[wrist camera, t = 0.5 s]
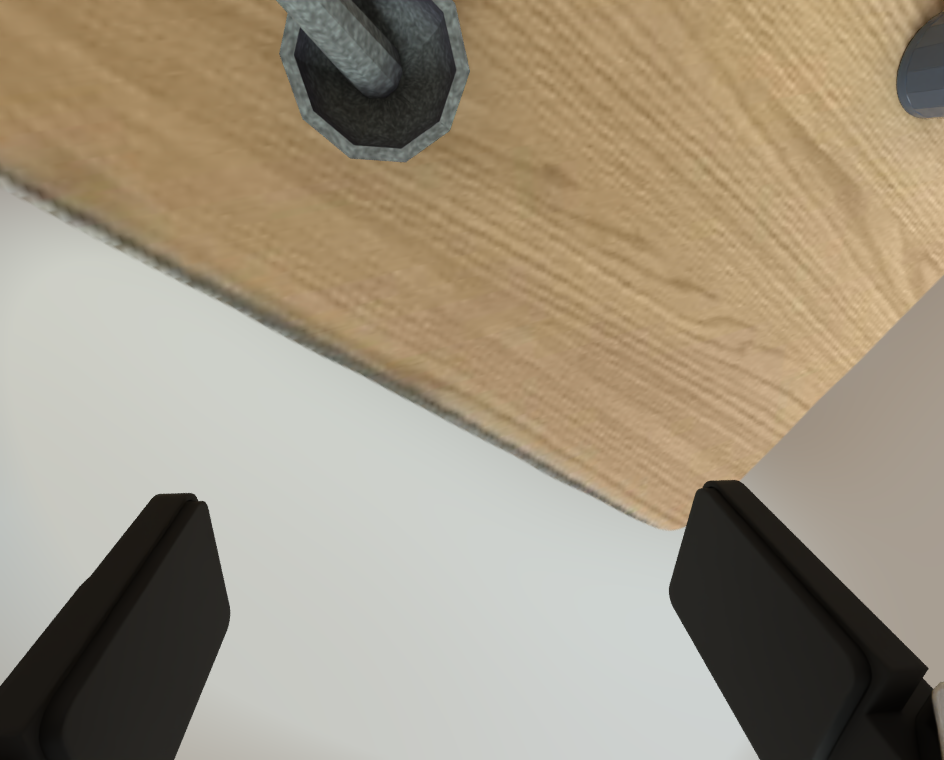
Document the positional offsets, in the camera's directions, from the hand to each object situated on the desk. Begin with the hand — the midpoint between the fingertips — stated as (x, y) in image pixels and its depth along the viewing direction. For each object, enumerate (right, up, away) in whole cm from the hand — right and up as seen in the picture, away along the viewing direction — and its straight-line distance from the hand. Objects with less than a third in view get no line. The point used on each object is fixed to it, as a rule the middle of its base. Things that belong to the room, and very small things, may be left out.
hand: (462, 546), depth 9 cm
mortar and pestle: (-6, +23, +22) cm, 33 cm away
